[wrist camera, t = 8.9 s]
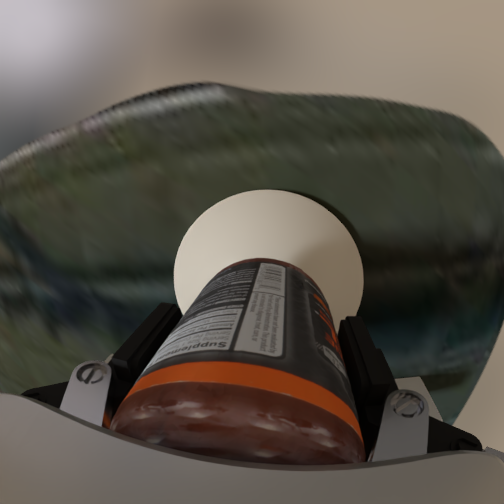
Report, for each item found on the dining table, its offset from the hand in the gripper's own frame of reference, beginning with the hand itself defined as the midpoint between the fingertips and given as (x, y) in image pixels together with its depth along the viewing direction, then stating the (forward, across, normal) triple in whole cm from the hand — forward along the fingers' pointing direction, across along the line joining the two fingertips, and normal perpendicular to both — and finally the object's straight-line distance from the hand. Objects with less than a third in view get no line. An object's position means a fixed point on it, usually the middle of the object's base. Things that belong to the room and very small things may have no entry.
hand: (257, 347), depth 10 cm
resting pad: (+6, 0, 0) cm, 6 cm away
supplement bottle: (+3, 0, 0) cm, 3 cm away
